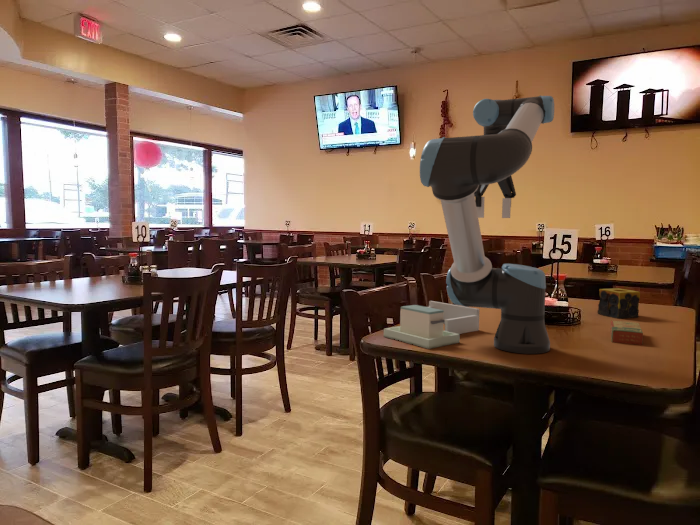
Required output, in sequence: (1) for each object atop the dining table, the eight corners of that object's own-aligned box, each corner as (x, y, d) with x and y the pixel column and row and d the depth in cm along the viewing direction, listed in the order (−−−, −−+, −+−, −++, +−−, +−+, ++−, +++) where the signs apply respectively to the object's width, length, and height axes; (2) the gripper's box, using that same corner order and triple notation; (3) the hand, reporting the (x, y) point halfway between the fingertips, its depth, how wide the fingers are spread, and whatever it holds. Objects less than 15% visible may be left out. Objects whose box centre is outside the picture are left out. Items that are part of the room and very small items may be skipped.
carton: (638, 335, 167) (639, 322, 166) (643, 346, 152) (644, 332, 152) (609, 332, 170) (610, 319, 170) (611, 343, 155) (612, 329, 155)
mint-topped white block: (445, 341, 153) (446, 310, 152) (431, 343, 149) (432, 312, 149) (414, 333, 163) (414, 304, 163) (400, 335, 160) (400, 306, 159)
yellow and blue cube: (597, 314, 202) (598, 288, 202) (617, 313, 206) (618, 288, 205) (617, 319, 193) (619, 292, 192) (639, 317, 196) (640, 291, 195)
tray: (459, 342, 153) (459, 334, 153) (428, 348, 146) (428, 340, 145) (413, 331, 168) (413, 323, 168) (383, 336, 161) (383, 328, 160)
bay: (478, 330, 171) (479, 309, 170) (447, 336, 162) (447, 313, 161) (431, 320, 188) (431, 300, 187) (400, 324, 179) (400, 304, 178)
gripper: (508, 155, 177) (506, 218, 178) (460, 148, 162) (458, 217, 163) (528, 153, 171) (526, 218, 173) (479, 146, 156) (477, 217, 157)
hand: (493, 218), depth 168 cm, fingers open, 13 cm apart
